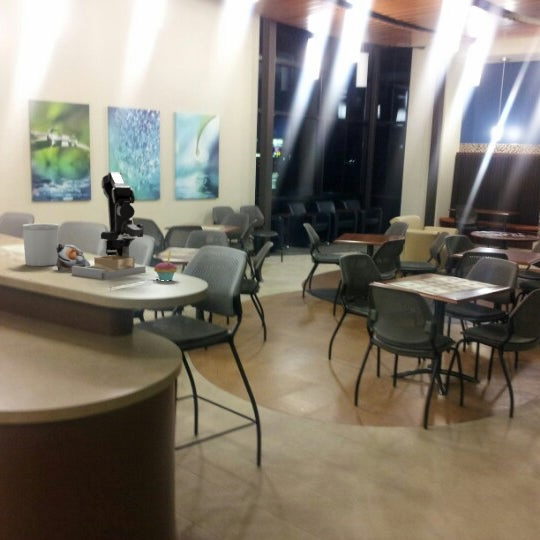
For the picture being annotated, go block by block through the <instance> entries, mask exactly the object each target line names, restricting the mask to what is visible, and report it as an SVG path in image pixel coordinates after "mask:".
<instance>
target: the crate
mask: <svg viewBox="0 0 540 540" xmlns="http://www.w3.org/2000/svg"><path fill="white" fill-rule="evenodd" d="M115 251H116V255H109V256H107V255H101V256H96V257H93V258H94V259H93V260H94V261H93V262H94V263H93V265H94V269H101V270H106V272H110V271H116V270H122V269H128V268H134V267H135V263H136V262H135V261H136V260H135V257H132V256H131V257H130V246H129V247H125V246H122V256H119V254H118V252H117V250H115Z"/></svg>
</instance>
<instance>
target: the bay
mask: <svg viewBox="0 0 540 540" xmlns="http://www.w3.org/2000/svg"><path fill="white" fill-rule="evenodd" d="M141 273H143V274H144V273H147V271H146V265H142V266H136V267H134V268H128V269H122V270H116V271H110V272H106V270H101V269H94V264H93V265H90V266H87V267H79V266H72V269H71V275H72V276H78V277H84V278H90V279H98V280H99V279H100V280H108V279H115V278H119V277H124V276H125V277H126V276H130V275H137V274H141Z"/></svg>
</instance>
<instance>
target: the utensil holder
mask: <svg viewBox="0 0 540 540" xmlns="http://www.w3.org/2000/svg"><path fill="white" fill-rule="evenodd" d="M21 225H22V229H23V244H24V245H23V247H24V248H23V249H24V260H25V261H24V262H25V265H26V266H29V265H30V266H31V267H45V266H46V267H48V266H55V265H56V266H57V259H58V253H57V250H56V245H57V244H59V228H60V227H59V224H58V223H26V224H25V223H24V224H21Z"/></svg>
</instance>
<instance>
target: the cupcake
mask: <svg viewBox="0 0 540 540" xmlns="http://www.w3.org/2000/svg"><path fill="white" fill-rule="evenodd" d="M170 258H171V249H170V250H169V252H168V256H167V261H165V262H159V263H157V264H156V265H155V267H154V268H153V269H154V272H156V273H157V276H158V279H159V281H160V280H164V281H163V282H168V281H167V280H172V281H173V278H174V275H175V273H176V272H177V270H178V267H177V266H176V265H175V264H174V263H172V262H171V261H170V260H171V259H170Z"/></svg>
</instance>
